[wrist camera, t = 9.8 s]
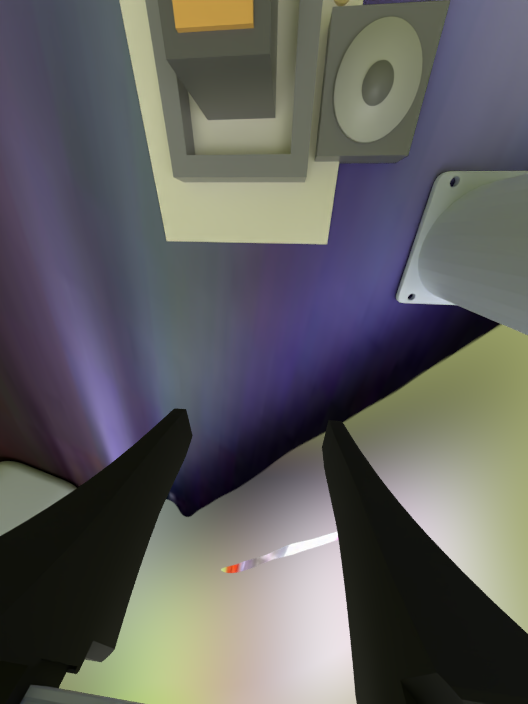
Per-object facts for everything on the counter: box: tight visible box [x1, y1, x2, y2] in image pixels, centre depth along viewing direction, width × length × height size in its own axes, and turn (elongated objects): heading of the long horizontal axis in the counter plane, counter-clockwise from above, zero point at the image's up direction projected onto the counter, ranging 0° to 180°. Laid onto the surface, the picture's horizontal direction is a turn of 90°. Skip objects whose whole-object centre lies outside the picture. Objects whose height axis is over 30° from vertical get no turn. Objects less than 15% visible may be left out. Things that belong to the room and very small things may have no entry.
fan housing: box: [315, 0, 450, 163], centre depth 11 cm, size 5×5×2 cm
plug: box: [158, 0, 278, 120], centre depth 9 cm, size 4×5×5 cm
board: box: [119, 0, 363, 244], centre depth 11 cm, size 12×16×2 cm
